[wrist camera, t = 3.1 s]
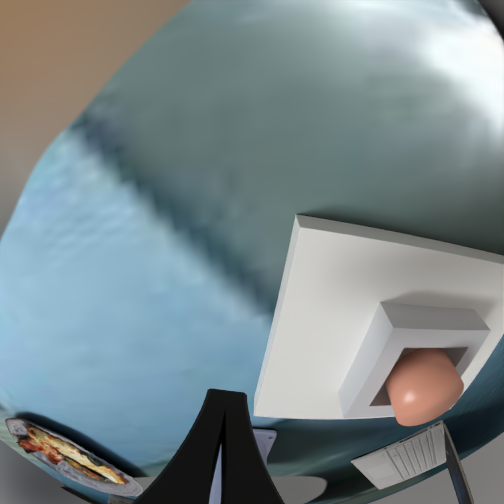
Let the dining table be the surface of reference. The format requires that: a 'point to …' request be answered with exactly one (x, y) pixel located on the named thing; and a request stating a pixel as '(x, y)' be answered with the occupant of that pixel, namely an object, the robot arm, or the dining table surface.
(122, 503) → the coffee box
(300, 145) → the dining table surface
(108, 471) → the food plate
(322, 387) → the button panel
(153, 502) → the robot arm
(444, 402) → the button
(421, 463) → the laptop
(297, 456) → the dining table surface
